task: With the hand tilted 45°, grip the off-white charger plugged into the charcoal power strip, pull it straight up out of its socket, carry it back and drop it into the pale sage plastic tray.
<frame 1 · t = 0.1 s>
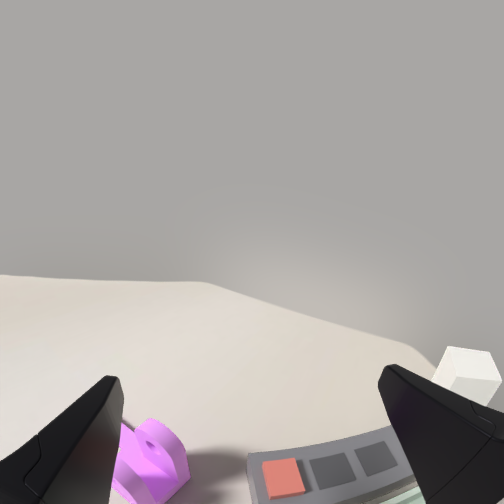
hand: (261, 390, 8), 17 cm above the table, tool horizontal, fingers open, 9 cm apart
bracket: (116, 456, 18), on the table
charger: (418, 449, 18), point 1 cm above the table, touching power strip
power strip: (363, 474, 18), on the table
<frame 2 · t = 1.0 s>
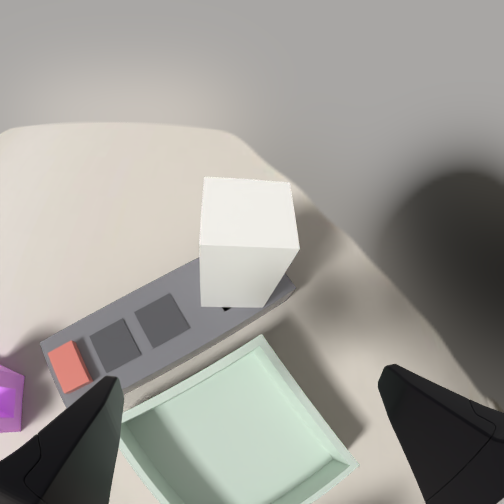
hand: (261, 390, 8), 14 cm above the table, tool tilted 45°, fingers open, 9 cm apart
charger: (229, 291, 23), point 1 cm above the table, touching power strip
power strip: (166, 329, 22), on the table
tray: (231, 449, 18), on the table
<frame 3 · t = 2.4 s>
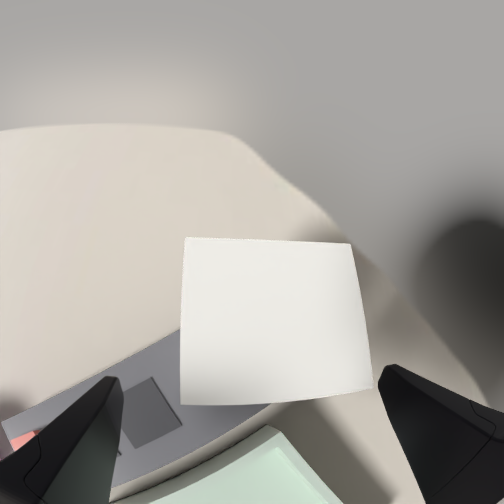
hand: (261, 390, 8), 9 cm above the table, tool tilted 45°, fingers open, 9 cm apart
charger: (234, 362, 16), point 1 cm above the table, touching power strip
power strip: (152, 410, 15), on the table
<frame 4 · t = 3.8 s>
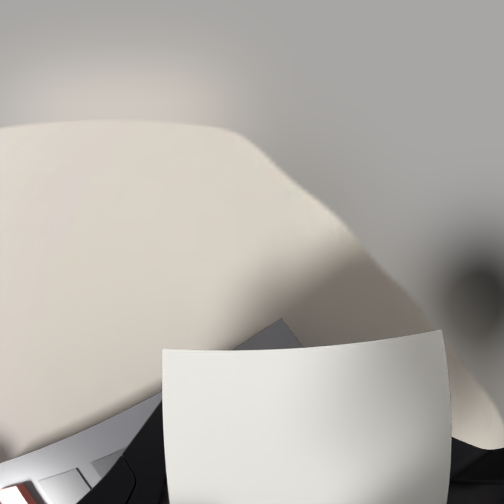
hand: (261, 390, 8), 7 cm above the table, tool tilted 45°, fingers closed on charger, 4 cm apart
charger: (241, 415, 12), point 1 cm above the table, touching gripper, power strip
power strip: (147, 464, 11), on the table
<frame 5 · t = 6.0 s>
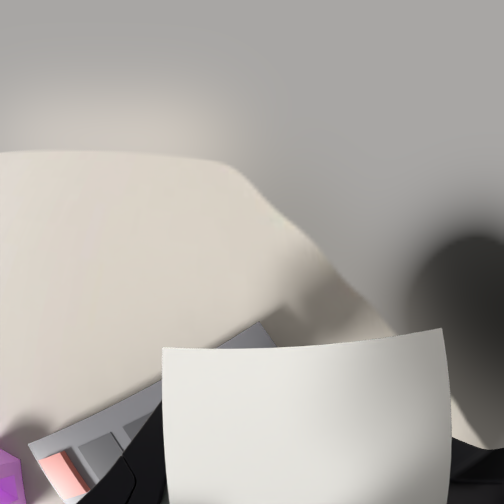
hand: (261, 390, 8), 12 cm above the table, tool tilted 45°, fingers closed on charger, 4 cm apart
charger: (241, 415, 12), point 7 cm above the table, touching gripper
power strip: (161, 430, 17), on the table
when the fingers open (8 cm above the table, at t = 8.2 s): charger drops 2 cm, resting on tray.
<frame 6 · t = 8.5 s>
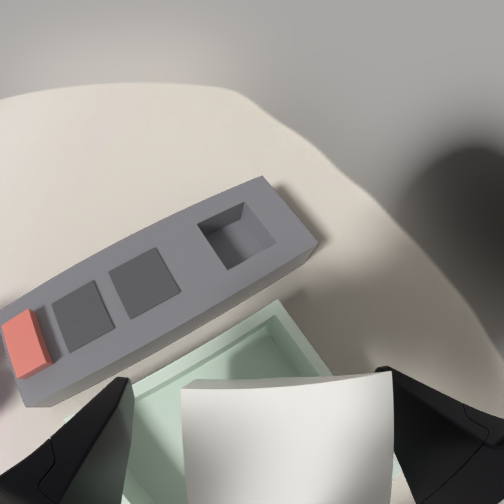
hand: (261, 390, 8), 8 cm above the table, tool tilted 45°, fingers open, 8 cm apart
charger: (237, 411, 14), point 1 cm above the table, touching tray
power strip: (152, 299, 17), on the table
tray: (237, 458, 13), on the table
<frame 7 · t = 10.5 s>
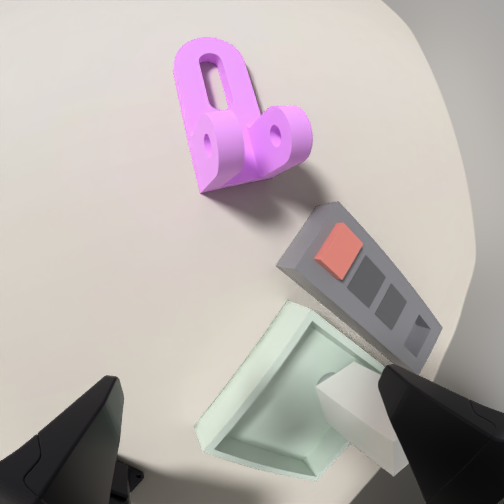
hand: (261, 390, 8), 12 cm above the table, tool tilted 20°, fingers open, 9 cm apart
bracket: (215, 108, 20), on the table
charger: (327, 384, 23), point 1 cm above the table, touching tray
power strip: (369, 302, 25), on the table
tray: (296, 397, 23), on the table
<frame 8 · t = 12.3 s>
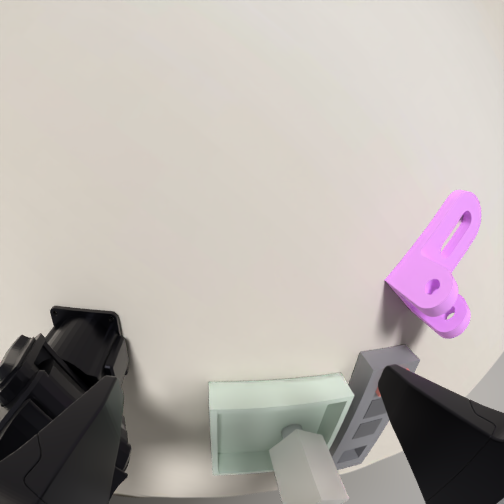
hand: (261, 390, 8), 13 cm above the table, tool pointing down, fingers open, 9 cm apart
bracket: (436, 243, 23), on the table
charger: (291, 430, 27), point 1 cm above the table, touching tray
power strip: (357, 411, 29), on the table
tray: (270, 420, 27), on the table
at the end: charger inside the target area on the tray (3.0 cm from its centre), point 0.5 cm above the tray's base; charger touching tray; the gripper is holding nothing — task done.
